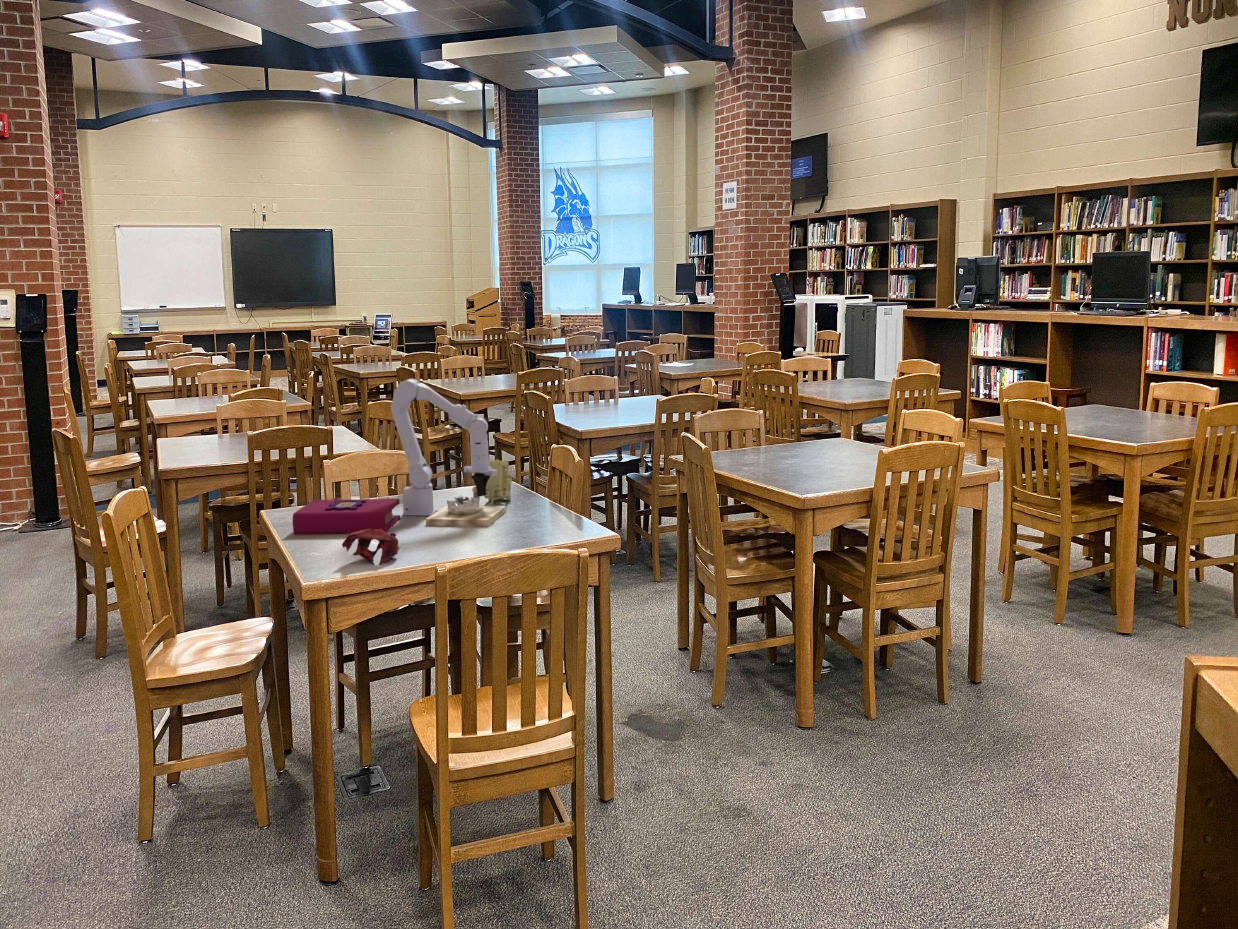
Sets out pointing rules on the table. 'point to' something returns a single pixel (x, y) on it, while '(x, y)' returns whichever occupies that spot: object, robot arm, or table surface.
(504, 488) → the mechanical component
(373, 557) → the dark red lumpy piece
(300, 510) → the book
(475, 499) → the grey boxy piece
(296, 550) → the table surface
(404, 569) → the table surface
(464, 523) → the base plate
